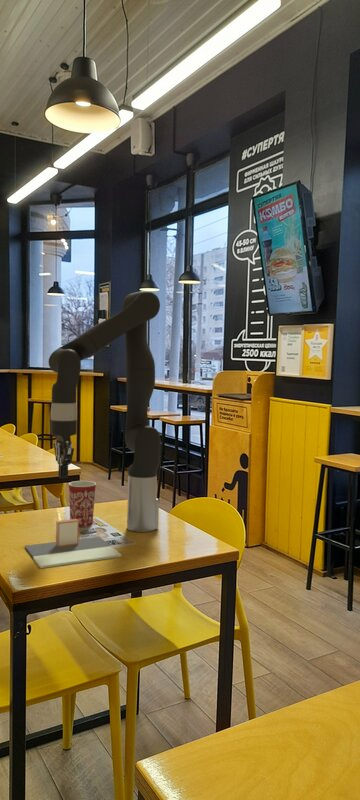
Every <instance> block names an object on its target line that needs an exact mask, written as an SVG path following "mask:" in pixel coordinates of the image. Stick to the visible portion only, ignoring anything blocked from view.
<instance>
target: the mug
mask: <svg viewBox="0 0 360 800" xmlns="http://www.w3.org/2000/svg"><path fill="white" fill-rule="evenodd" d="M96 486H97V483H96V482H95V481H89V480H76V481H71V482H68V493H69V494H68V497H69V498H68V499H69V501H68V502H69V520H70V519H78V520H79V528H84V527H86V526H87V527H90V526H92V525H93V522H94V510H95V497H96Z"/></svg>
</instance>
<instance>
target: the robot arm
mask: <svg viewBox="0 0 360 800" xmlns="http://www.w3.org/2000/svg"><path fill="white" fill-rule="evenodd" d="M160 308H161V301H160V299H159V297H158V295H157V294H156V293H154V292H153V291H149V290H142V291H141V290H139V291H136V292H132V293H129V294H127V295H126V296H125V298H124V300H123V302H122V310H121V311H120V312H118V313H116V314H115V315H113V316H111V317H109V318H107V319H105V320H103V321H101V322H99V323H96V324H95V325H94V326H92V327H90V328H89V329H88V330H86V331H85V332H83V333H82V334H80V335H79V336H78V337H77V338H75V339H73V340H71V341H69V342H68V343H65V344H63V345H62V346H60V347H57V349H55V350H54V351H52V352H51V354H50V356H49V358H48V366H49V368H50V369H51V371H53V372H54V373H56V374H57V376H56V381H55V383H53V384H52V387H51V407H50V425H49V427H50V431H49V432H50V435H52V436H56V440H55V441H54V443H53V449H54V456H55V461H56V464H57V465H58V470H57V471H58V477H59V478H60V479H61V480H62V479H68V478H69V466H70V465H72V460H73V456H74V452H75V448H74V447H73V442H72V439H71V437H72V436H76V435H77V433H78V407H77V387H78V383H79V379H80V375H81V369H82V361H83V360H85V359H90V358H92V357H93V356H95V355H96V354H98V353H100V351H102V350H103V349H104V348H106V347H107V346H109V345H110V344H111V343H113V342H114V341H115V340H116V341H117V339H119V338H120V337H122V336H123V335H125V361H126V362H125V381H126V382H125V383H126V417H125V427H124V428H125V431H124V442H125V445H126V447H127V448H128V450H130V451H131V452H133V453H134V454H133V462H132V464H130V465H129V466H128V469H127V510H126V511H127V513H126V514H127V515H126V517H127V519H126V523H127V524H126V528H127V530H129V531H131V532H139V533H148V532H151V531H154V530H159V514H160V513H159V512H160V509H159V507H160V506H159V505H160V500H159V498H157V494H158V493H157V490H158V489H157V487H158V486H157V485H158V484H157V483H158V482H157V481H158V480H157V479H158V469H159V467H160V463H161V453H162V451H161V450H162V449H161V448H162V440H161V434H160V432H159V430H157V428H156V427H153V426H150V425H149V421H148V419H149V417H148V410H149V404H150V400H151V398H152V395H153V393H154V390H155V389H154V388H155V385H156V363H155V360H154V359H155V358H154V356H153V353H152V351H151V347H150V346H149V343H148V339H147V333H146V327H147V326H146V324H147V323H146V322H148V321H151V320H153V319H154V318H155V317H156V316H157V315H159V312H160Z"/></svg>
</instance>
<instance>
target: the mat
mask: <svg viewBox="0 0 360 800" xmlns="http://www.w3.org/2000/svg"><path fill="white" fill-rule="evenodd" d="M24 549H25V550H26V551H27V552H28V554H29V555H30V556H31V558H32V559H33V561H34V562H35V563H36V565H37V566H38V568H40V569H44V568H45V569H46V568H53V567H60V566H67V565H73V564H80V563H81V564H82V563H87V562H94V561H99V560H100V561H101V560H102V561H103V560H107V559H108V560H109V559H116V558H122V553H120V552H119V551H118V550H116V549H115V548H114V547H113V546H112V545H110V544H109V543H108V542H107V541H105V540H104V538H102V537H100V536H92V537H84V538H78V545H71V546H63V547H57V546H56V541H53V542H52V541H51V542H44V543H36V544H28V545H24Z"/></svg>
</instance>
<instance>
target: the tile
mask: <svg viewBox="0 0 360 800" xmlns="http://www.w3.org/2000/svg"><path fill="white" fill-rule="evenodd" d="M55 524H56V525H55V530H56V531H55V542H56V546H57V547H63V546H71V545H78V539H79V535H80V534H79V528H80V527H79V520H78V519H70V518H69V519H64V520H56V521H55Z"/></svg>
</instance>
